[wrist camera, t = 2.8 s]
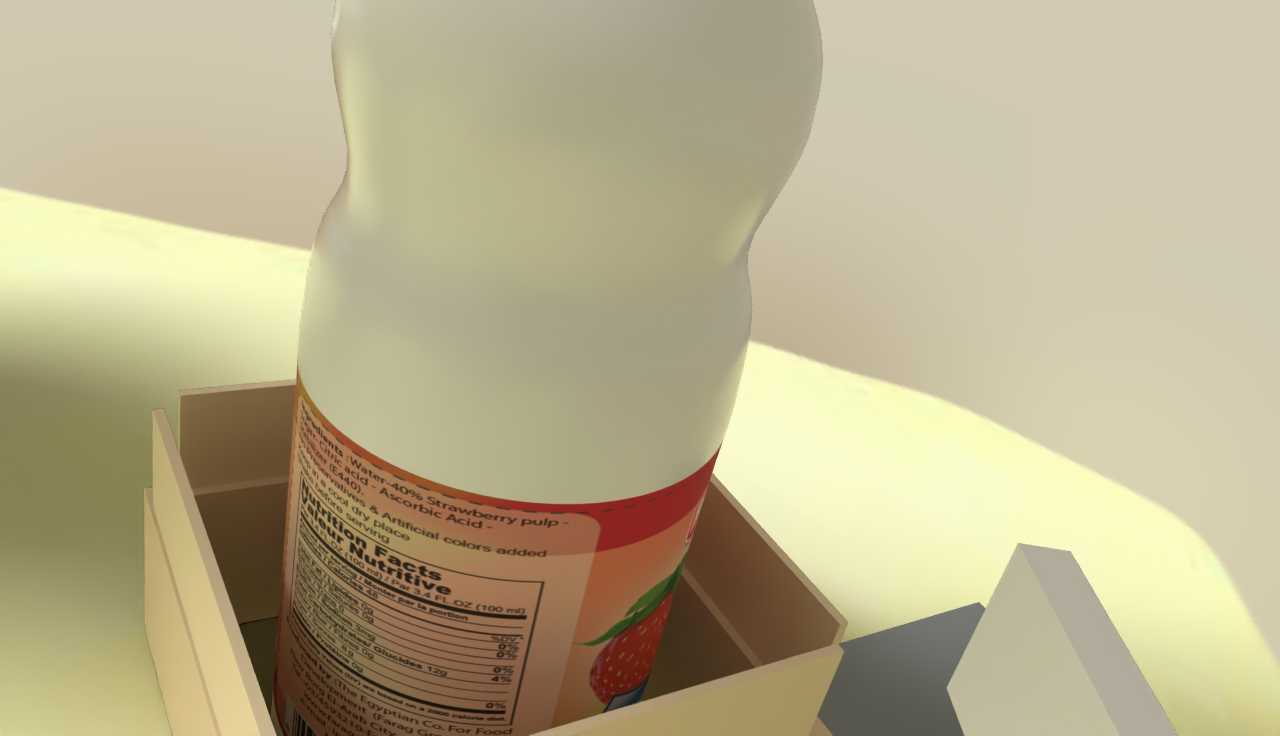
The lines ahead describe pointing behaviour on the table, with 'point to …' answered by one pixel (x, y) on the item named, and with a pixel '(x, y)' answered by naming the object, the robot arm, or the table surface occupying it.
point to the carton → (643, 732)
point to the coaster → (900, 678)
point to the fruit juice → (522, 349)
